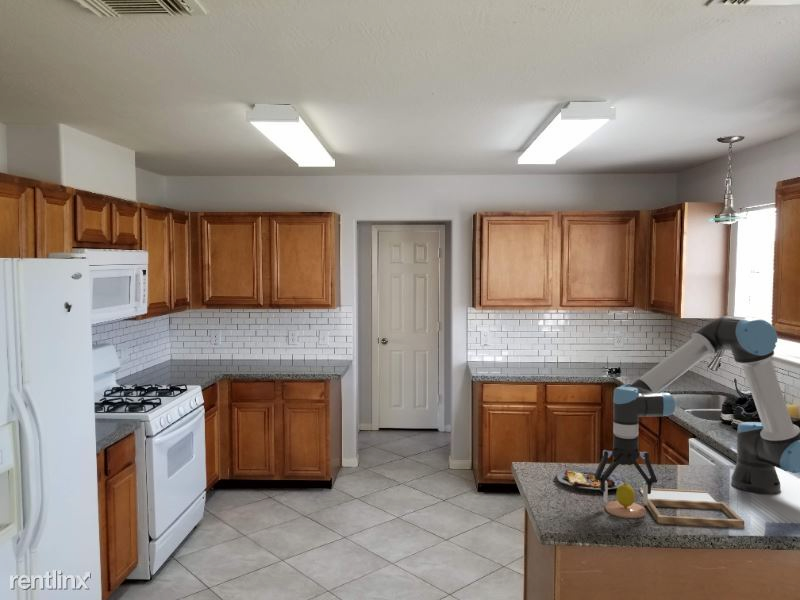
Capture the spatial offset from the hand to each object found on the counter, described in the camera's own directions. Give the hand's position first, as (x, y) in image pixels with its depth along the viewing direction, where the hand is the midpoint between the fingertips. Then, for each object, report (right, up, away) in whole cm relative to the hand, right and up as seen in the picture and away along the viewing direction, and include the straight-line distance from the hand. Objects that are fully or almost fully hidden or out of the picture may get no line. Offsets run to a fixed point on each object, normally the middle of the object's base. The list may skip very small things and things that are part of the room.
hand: (625, 502), depth 189 cm
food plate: (-3, -2, +27) cm, 27 cm away
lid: (+22, -2, +10) cm, 24 cm away
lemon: (0, -2, 0) cm, 2 cm away
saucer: (0, -3, 0) cm, 3 cm away
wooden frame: (+20, -3, -4) cm, 20 cm away
